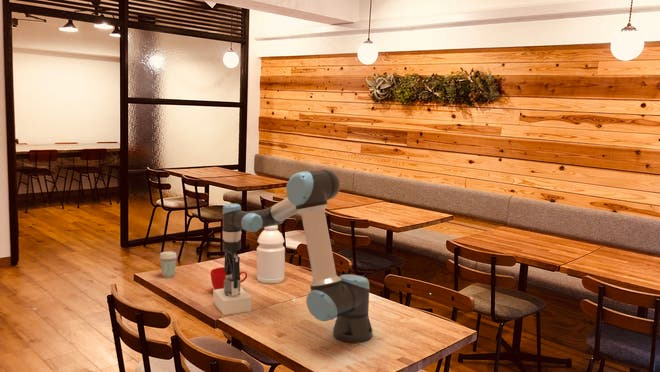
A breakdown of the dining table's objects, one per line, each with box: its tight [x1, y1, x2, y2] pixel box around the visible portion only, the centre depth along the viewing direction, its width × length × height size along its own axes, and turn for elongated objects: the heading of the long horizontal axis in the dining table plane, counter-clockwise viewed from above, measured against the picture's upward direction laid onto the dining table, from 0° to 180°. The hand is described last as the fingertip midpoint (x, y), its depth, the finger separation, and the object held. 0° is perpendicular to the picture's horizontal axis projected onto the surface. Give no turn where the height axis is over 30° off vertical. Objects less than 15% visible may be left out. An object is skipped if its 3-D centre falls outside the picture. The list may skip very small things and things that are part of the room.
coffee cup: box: [158, 251, 178, 279], centre depth 289 cm, size 8×8×12 cm
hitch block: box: [212, 286, 252, 316], centre depth 248 cm, size 16×12×6 cm
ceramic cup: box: [210, 266, 248, 290], centre depth 268 cm, size 13×17×10 cm
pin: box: [224, 278, 241, 296], centre depth 248 cm, size 7×7×10 cm
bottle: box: [255, 225, 286, 285], centre depth 286 cm, size 14×14×28 cm
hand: (232, 292), depth 248 cm, fingers open, 7 cm apart
